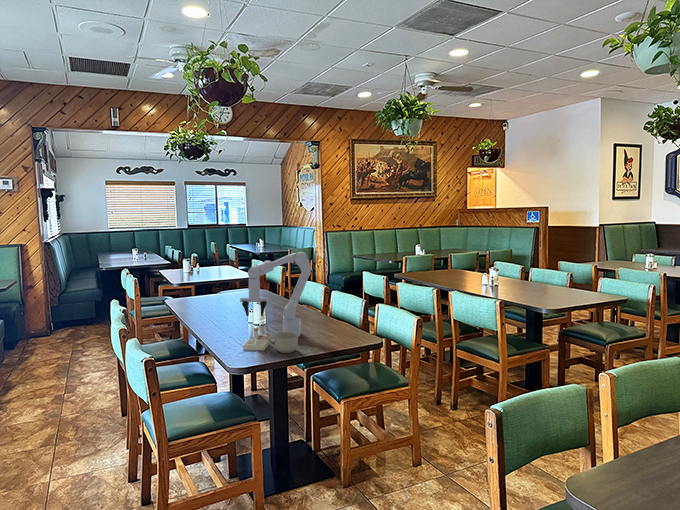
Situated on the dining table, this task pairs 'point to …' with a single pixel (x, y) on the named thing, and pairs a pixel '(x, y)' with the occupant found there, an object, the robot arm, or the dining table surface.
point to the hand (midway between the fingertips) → (254, 315)
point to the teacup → (284, 341)
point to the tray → (250, 345)
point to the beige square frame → (262, 337)
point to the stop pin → (256, 335)
